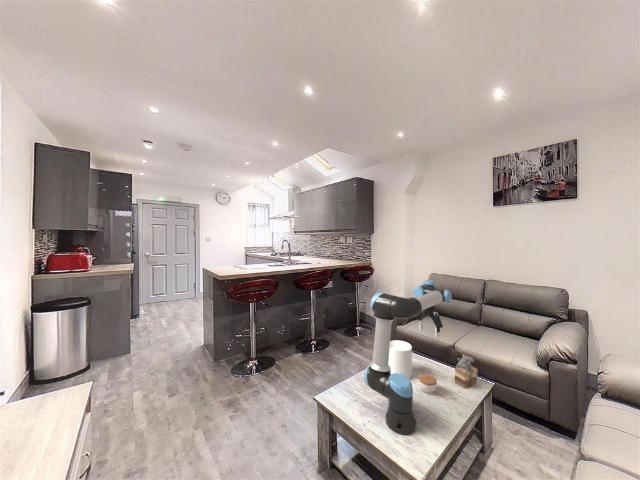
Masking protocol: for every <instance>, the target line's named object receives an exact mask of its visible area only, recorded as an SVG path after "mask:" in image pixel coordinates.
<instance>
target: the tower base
mask: <svg viewBox="0 0 640 480" xmlns="http://www.w3.org/2000/svg"><path fill="white" fill-rule="evenodd" d="M477 377H478V376H477ZM477 377H474V378H471V379H469V380H466V381H464V380H463V379H461V378H459V377H458V376H456V375H455V374H454V384H456V385H458V386H459V387H462V388H463V389H467V388H469V387H471V386H473V385H476V384H477Z"/></svg>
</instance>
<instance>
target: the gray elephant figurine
mask: <svg viewBox="0 0 640 480" xmlns="http://www.w3.org/2000/svg"><path fill="white" fill-rule="evenodd" d="M461 357H462V358H461ZM461 357H458V358H457V361H458V363H457V364H456V367H457V368H458V367H459V366H462V367H464V368H465V369H466V372H469V370H468V368H469V369H470V370H472V368H471V366H472V363H474V362H475V359H474V357H471V356H468V355H466V354H464V353H462V355H461ZM467 366H468V368H467Z"/></svg>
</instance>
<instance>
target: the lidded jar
mask: <svg viewBox="0 0 640 480" xmlns="http://www.w3.org/2000/svg"><path fill="white" fill-rule="evenodd" d="M417 381H418V386H419V388H420V390H421V391H422V392H423V393H425V394H428V395H429V394H432V393H434V392H435V391H436V389H437V381H438V380H437V378H436V377H435V376H433V375H431V374H428V373H420V374H418V376H417Z"/></svg>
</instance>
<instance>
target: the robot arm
mask: <svg viewBox="0 0 640 480" xmlns="http://www.w3.org/2000/svg"><path fill="white" fill-rule="evenodd" d="M412 293H413V296H414V297H412V296H411V297H409V298H408V297H402V296H397V295H394V294H389V293H385V292H376V293H375V294H374V295H373V297H372V298H371V301H370V305H369V306H370V310H371V311H372V312H373V317H374V319H375V331H374V342H373V353H372V361H371V362H369V365H368V366H366V368H365V371H364V375H363V376H364V377H363V378H364V382H365V384H366V386H367V387H369V389H370V390H373V391H375V392H376V393H378V394H380V395H381V396H383V397H385V398H386V399H387V400H388V407H387V411H386V413H385V424H386V426H387V427H388V428H389V429H390V430H391V431H392V432H394V433H396V434H398V435H411V434H413V433H414V432H415V431H416V429H417V420H416V418H415V414H414V411H413V403H414V401H413V395H414V390H413V384H412V381H411V379H408V378H407V377H406V376H404V375H402V374H398V373H394V374H391V368H390V366H389V365H388V362H389V349H390V341H391V335H392V334H391V333H392V323H393V322H394V321H395V319H397V320H399V319H400V320H403V319H411V318H413V317H416V319H417V320H418V327H419V328H418V330H419V331H422V330H424V320H423V319H424V318H425V317H429V318H431V319H432V322H433V323H434V325H435V328H434V329H435V333H434V337H435V338H439V337H440V333H441V328H443V327H444V325H443V323H442V321H441V318H440V313H439V311H435V310H436V305H438V304H440V303H442V302H443V303H447V304H448V303H451V301H452V300H453V299H452V298H453V296H452V292H451V291H450V290H447V289H445V288H437V287H436V282H435V281H434V280H430V279H429V280H428V279H426V280H423V283H422V284H421V285H417V286H415V287H414V288H413V291H412Z"/></svg>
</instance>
